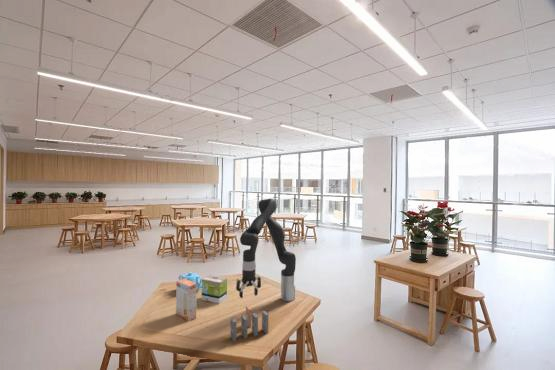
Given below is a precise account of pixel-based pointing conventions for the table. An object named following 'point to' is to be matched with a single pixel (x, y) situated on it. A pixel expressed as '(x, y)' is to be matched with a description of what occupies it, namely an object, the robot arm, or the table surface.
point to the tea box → (214, 289)
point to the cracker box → (186, 299)
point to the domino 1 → (233, 329)
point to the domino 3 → (249, 316)
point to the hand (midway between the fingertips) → (248, 296)
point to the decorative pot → (192, 278)
